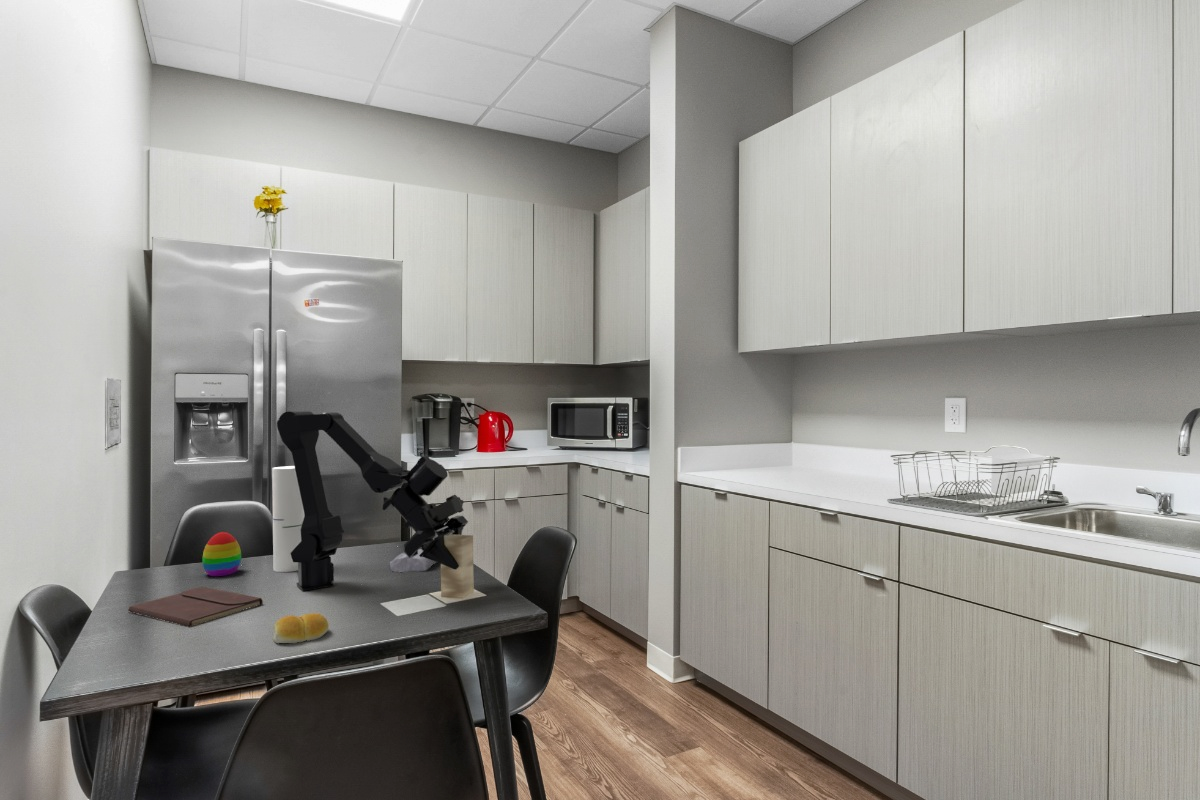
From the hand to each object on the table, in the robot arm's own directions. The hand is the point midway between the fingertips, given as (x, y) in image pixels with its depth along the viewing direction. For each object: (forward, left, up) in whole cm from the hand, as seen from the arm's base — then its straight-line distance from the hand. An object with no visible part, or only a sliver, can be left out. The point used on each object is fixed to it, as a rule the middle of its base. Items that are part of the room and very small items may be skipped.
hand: (463, 564), depth 140 cm
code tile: (-1, +1, -7) cm, 7 cm away
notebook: (-46, +26, -7) cm, 53 cm away
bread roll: (-33, -4, -7) cm, 34 cm away
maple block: (-1, +1, -6) cm, 6 cm away
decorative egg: (-38, +54, -7) cm, 66 cm away
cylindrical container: (-24, +49, -7) cm, 55 cm away
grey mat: (-11, 0, -7) cm, 13 cm away
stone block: (+1, +31, -7) cm, 32 cm away
